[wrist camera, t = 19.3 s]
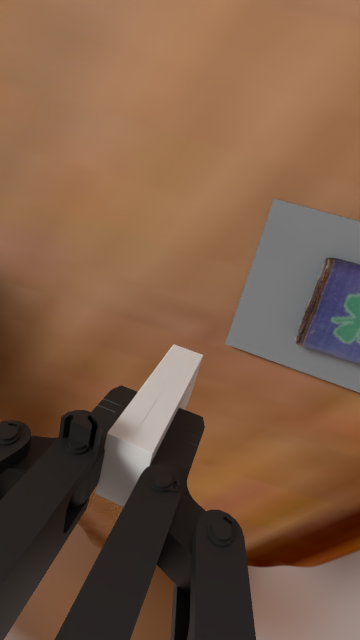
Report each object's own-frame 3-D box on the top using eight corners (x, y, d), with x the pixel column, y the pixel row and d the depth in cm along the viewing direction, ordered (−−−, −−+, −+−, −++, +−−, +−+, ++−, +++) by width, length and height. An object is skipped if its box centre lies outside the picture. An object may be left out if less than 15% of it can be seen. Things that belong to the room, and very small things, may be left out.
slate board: (227, 339, 39) (225, 343, 38) (274, 198, 32) (274, 198, 31) (387, 397, 36) (390, 404, 34) (477, 252, 29) (484, 255, 28)
